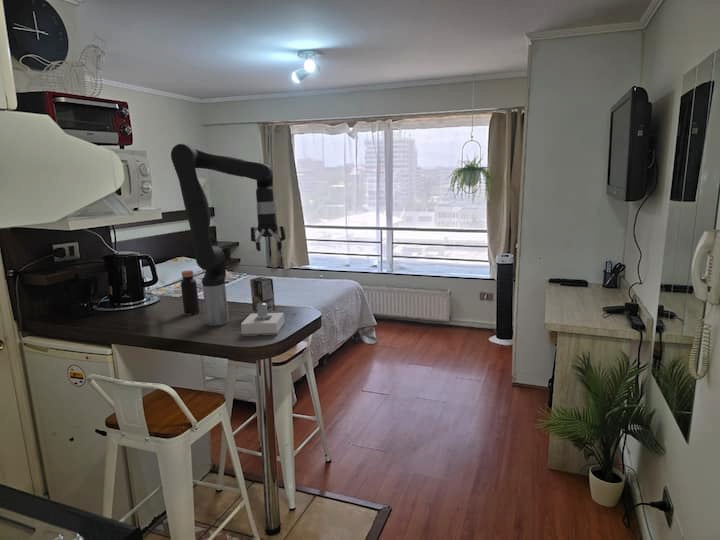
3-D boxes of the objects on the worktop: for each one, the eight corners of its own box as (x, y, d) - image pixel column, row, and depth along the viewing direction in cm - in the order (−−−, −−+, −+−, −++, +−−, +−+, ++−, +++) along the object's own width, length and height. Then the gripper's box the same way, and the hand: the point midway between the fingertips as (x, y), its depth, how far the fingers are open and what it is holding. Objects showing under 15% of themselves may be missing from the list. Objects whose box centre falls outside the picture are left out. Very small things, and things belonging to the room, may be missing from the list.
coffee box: (276, 313, 211) (273, 278, 208) (264, 316, 206) (261, 281, 203) (264, 309, 217) (261, 276, 214) (252, 313, 213) (249, 278, 209)
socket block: (242, 336, 181) (240, 324, 180) (251, 324, 195) (250, 313, 194) (277, 335, 181) (276, 323, 180) (284, 324, 194) (283, 312, 193)
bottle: (181, 314, 216) (176, 272, 212) (193, 310, 221) (189, 269, 217) (190, 316, 212) (185, 273, 208) (202, 312, 217) (198, 270, 213)
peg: (257, 329, 186) (255, 305, 184) (260, 326, 190) (258, 302, 188) (267, 329, 186) (265, 305, 184) (269, 325, 190) (267, 302, 188)
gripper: (246, 213, 190) (250, 252, 193) (281, 212, 189) (284, 251, 192) (251, 212, 197) (255, 250, 201) (284, 211, 197) (287, 248, 200)
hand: (269, 250), depth 197 cm, fingers open, 8 cm apart
